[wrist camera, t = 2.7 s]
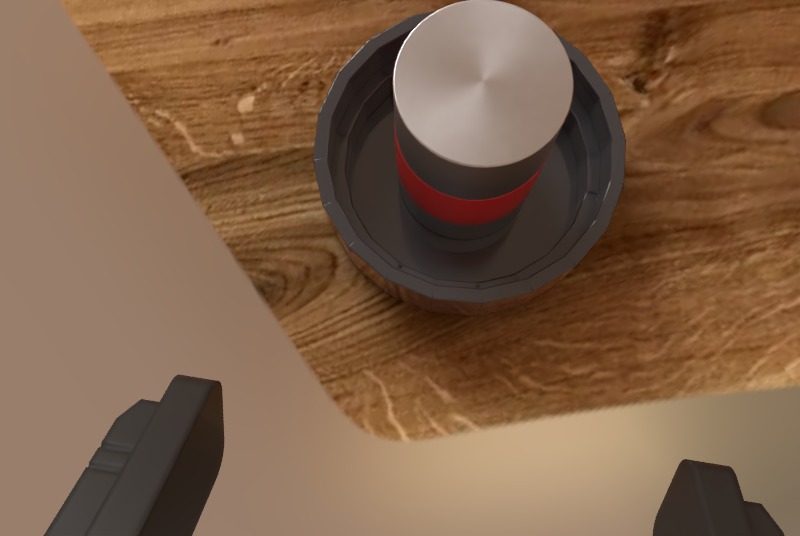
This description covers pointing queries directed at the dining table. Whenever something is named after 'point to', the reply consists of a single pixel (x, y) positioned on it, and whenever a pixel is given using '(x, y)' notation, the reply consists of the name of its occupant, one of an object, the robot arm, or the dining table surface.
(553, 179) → the stoneware bowl
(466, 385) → the dining table surface
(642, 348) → the dining table surface
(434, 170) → the can
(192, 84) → the dining table surface
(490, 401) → the dining table surface
